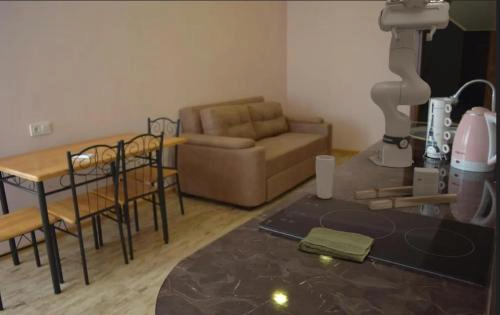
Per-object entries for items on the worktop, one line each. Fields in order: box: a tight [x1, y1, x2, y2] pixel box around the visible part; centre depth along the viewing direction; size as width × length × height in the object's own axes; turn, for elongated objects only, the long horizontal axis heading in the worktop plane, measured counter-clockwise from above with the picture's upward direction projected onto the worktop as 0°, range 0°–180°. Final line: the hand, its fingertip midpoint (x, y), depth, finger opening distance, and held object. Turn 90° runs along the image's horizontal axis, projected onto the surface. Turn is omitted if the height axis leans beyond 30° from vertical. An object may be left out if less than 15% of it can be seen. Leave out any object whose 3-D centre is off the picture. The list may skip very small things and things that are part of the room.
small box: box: [412, 166, 440, 197], centre depth 142 cm, size 8×6×10 cm
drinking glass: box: [315, 154, 336, 200], centre depth 144 cm, size 7×7×15 cm
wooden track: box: [353, 185, 458, 211], centre depth 141 cm, size 13×32×3 cm, turn 101°
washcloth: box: [298, 227, 375, 263], centre depth 106 cm, size 13×18×3 cm
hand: (413, 40), depth 125 cm, fingers open, 8 cm apart
